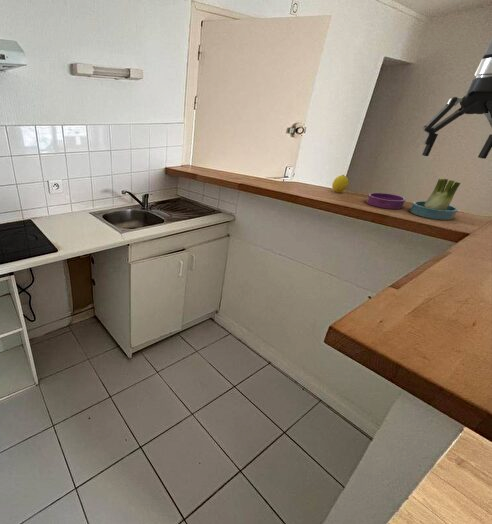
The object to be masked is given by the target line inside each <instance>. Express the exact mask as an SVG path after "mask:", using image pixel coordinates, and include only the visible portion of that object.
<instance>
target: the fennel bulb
mask: <svg viewBox="0 0 492 524" xmlns="http://www.w3.org/2000/svg"><path fill="white" fill-rule="evenodd" d="M460 185H461V182H459V181H455V180H451V179H448V178H439V179H438V180H437V182H436V185H435V187H434V189H433V191H432V192H431V194H430V195H429V196H428V198H427V199H426V200H425V201H426V203H425V204H424V207H426V208H430V209H436V210H444V211H445V210H446V209H447V207H448V206H449V205H450V204H451V203H452V200H453V198H454V196H455V194H456V192H457V190H458V188H459V187H460Z"/></svg>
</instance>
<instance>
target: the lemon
mask: <svg viewBox="0 0 492 524" xmlns="http://www.w3.org/2000/svg"><path fill="white" fill-rule="evenodd" d="M348 185H349V178H348V177H347V176H346V175H345V174H341V175H338V176H337V177H335V178H334V180H333V182H332V186H331V187H332V188H331V189H332V191H334V192H335V193H337V194H339V193H342V192H344V191H346V189H347V188H348Z"/></svg>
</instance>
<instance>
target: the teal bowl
mask: <svg viewBox="0 0 492 524" xmlns="http://www.w3.org/2000/svg"><path fill="white" fill-rule="evenodd" d="M426 201H427V200H417V201H414V202H413V203H412V206H411V208H410V209H409V212H410V213H411V214H414V215H416V216H419V217H422V218H427V219H431V220H441V221H448V220H449V221H450V220H453V219H454V218H455V216H456V214H457V212H458V210H459V208H457V207H456V206H453V205H450V204H449V206H448V207H447V209H446V210H445V211H444V210H436V209H430V208H426V207H424V204H425V203H426Z"/></svg>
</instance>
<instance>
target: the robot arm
mask: <svg viewBox="0 0 492 524" xmlns="http://www.w3.org/2000/svg"><path fill="white" fill-rule="evenodd" d="M474 76H475V78H473V79H471V80H470V82H469V85H468V87H467V90H466V92H465V94H464V96H463V97H457V96H452V97H449V98H448V99H447V101H446V103H445V105H444V106H443V107H442V108H441V109H439V111H438V112H437V113H436V114H434V116H433V117H432V118H431V119H429V121H427V122H426V124H425V125H424V126H423V127H422V128H421V131H422V132H426V133H427V134H426V136H425V139H424V141H423V145H425V147H424V149H423V152H422V154H421V155H422V156H424V157H429V155H430V153H431V151H432V149H433V146H434V144H435V142H436V140H437V138H438V136H439V133H437V132H438V131H440V130H442V129H443V128H444V127H446V126H448V125H449V124H451V123H452V122H453V121H455V120H456V119H458V118H459V117H461V116H464V115H484V116H485V118H486V119H487V121H488V124H489V126H490V127H491V128H492V38H491V39H490V41H489V43H488V45H487V48H486V49H485V53H483V56H482V59H481V60H480V62H479V64H478V66H477V68H476V71H475V73H474ZM458 104H459V105H460V107H459V108H458V109H456V110H455V111H453V113H451V114H450V115H448V116H447V117H445V118H444V116H445V115H447V114H448V112H449V111H451V110H452V109H453V107H455V106H457V105H458ZM443 118H444V119H443ZM441 119H442V120H441ZM440 120H441V121H440ZM491 150H492V134H489V136H488V137H487V139H486V141H485V142H484V145H483V146H482V148H481V150H480V152H479V154H478V155H477V158H479V159H484V160H485V159H487V158H488V155H489V154H490V152H491Z"/></svg>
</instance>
